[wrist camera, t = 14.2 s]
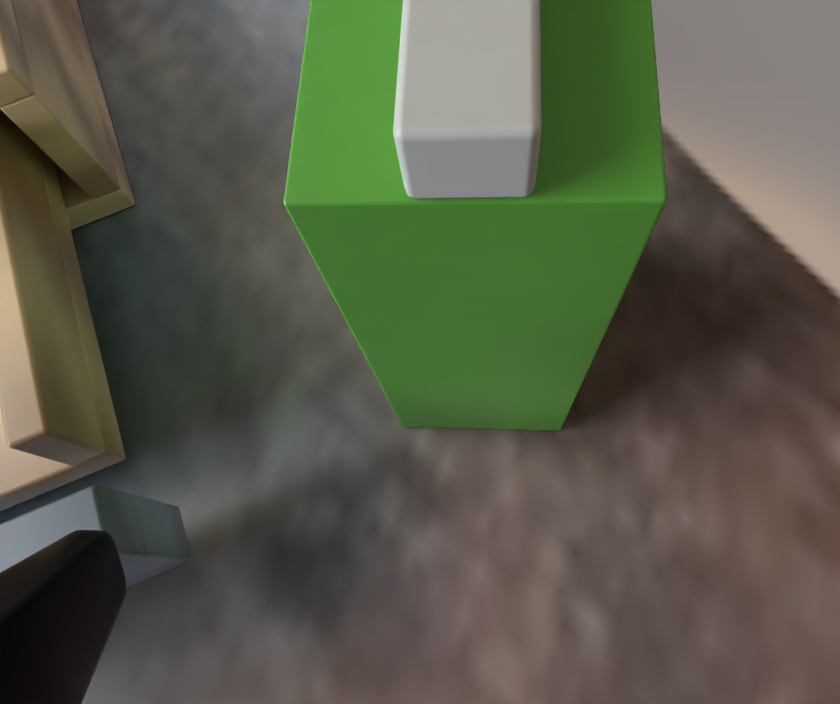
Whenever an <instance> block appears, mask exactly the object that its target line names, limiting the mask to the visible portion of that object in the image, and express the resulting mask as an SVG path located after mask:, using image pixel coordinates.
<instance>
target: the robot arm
mask: <svg viewBox="0 0 840 704" xmlns="http://www.w3.org/2000/svg"><path fill="white" fill-rule="evenodd" d="M125 594H126V578H125V574H124V571H123V567H122V564H121V560H120V557H119V553H118V550H117V546H116V543H115V540H114V537H113V536H112V535H111V534H110V533H109V532H106V531H100V530H76V531H73V532H71V533H70V534H68V535H66V536H64V537H63V538H61V539H59V540H57V541H55V542H54V543H52V544H50V545H48V546H47V547H45V548H43V549H41V550H40V551H38V552H36V553H34V554H32V555H31V556H29V557H27V558H25V559H24V560H22V561H20V562H18V563H17V564H15V565H13V566H11V567H9V568H8V569H6V570H4V571H2V572H1V573H0V704H81V703H82V701H83V698H84V696H85V694H86V691H87V689H88V686H89V684H90V681H91V679H92V677H93V674H94V672H95V669H96V667H97V664H98V662H99V660H100V657H101V655H102V652H103V650H104V647H105V645H106V642H107V640H108V638H109V635H110V633H111V630H112V628H113V625H114V623H115V621H116V618H117V616H118V613H119V611H120V608H121V606H122V604H123V601H124V598H125Z"/></svg>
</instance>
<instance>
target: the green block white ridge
mask: <svg viewBox="0 0 840 704" xmlns="http://www.w3.org/2000/svg"><path fill="white" fill-rule="evenodd" d="M666 201H667V189H666V176H665V164H664V152H663V140H662V128H661V117H660V104H659V92H658V80H657V67H656V55H655V43H654V31H653V20H652V7H651V0H310V6H309V14H308V21H307V29H306V36H305V44H304V51H303V59H302V66H301V73H300V81H299V88H298V96H297V103H296V111H295V118H294V125H293V133H292V140H291V148H290V155H289V163H288V170H287V177H286V185H285V192H284V200H283V203H284V206H285V208H286V210H287V212H288V213H289V215H290V217H291V219H292V221H293V223H294V225H295V227H296V228H297V230H298V232H299V234H300V236H301V238H302V240H303V241H304V243H305V245H306V247H307V249H308V251H309V253H310V255H311V256H312V258H313V260H314V262H315V264H316V266H317V268H318V270H319V271H320V273H321V275H322V277H323V279H324V281H325V283H326V285H327V286H328V288H329V290H330V292H331V294H332V296H333V298H334V299H335V301H336V303H337V305H338V307H339V309H340V311H341V313H342V314H343V316H344V318H345V320H346V322H347V324H348V326H349V328H350V329H351V331H352V333H353V335H354V337H355V339H356V341H357V343H358V344H359V346H360V348H361V350H362V352H363V354H364V356H365V358H366V359H367V361H368V363H369V365H370V367H371V369H372V371H373V372H374V374H375V376H376V378H377V380H378V382H379V384H380V386H381V387H382V389H383V391H384V393H385V395H386V397H387V399H388V401H389V402H390V404H391V406H392V408H393V410H394V412H395V414H396V416H397V417H398V419H399V421H400V423H401V425H402V426H403V427H439V428H475V429H512V430H548V431H560V430H561V428H562V426H563V424H564V421H565V419H566V417H567V415H568V413H569V411H570V408H571V406H572V404H573V402H574V400H575V398H576V395H577V393H578V391H579V389H580V387H581V385H582V383H583V380H584V378H585V376H586V374H587V372H588V370H589V367H590V365H591V363H592V361H593V359H594V357H595V354H596V352H597V350H598V348H599V346H600V344H601V341H602V339H603V337H604V335H605V333H606V331H607V329H608V326H609V324H610V322H611V320H612V318H613V316H614V313H615V311H616V309H617V307H618V305H619V303H620V300H621V298H622V296H623V294H624V292H625V290H626V287H627V285H628V283H629V281H630V279H631V277H632V274H633V272H634V270H635V268H636V266H637V264H638V262H639V259H640V257H641V255H642V253H643V251H644V249H645V246H646V244H647V242H648V240H649V238H650V236H651V233H652V231H653V229H654V227H655V225H656V223H657V220H658V218H659V216H660V214H661V212H662V210H663V208H664V205H665V203H666Z"/></svg>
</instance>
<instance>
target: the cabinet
mask: <svg viewBox="0 0 840 704" xmlns="http://www.w3.org/2000/svg"><path fill="white" fill-rule="evenodd" d="M0 108H1V110H2V111H3V112H4V113H5V114H6V115H7V116H8V117H9V118H10V119H11V120H12V121H13V122H14V123H15V124H16V125H17V126H18V127H19V128H20V129H21V130H22V131H23V132H24V133H25V134H26V135H27V136H28V137H29V138H30V139H31V140H32V141H33V142H34V143H36V144H37V145H38V146H39V147H40V148H41V149H42V150H43V151H44V152H45V153H46V154H47V155H48V156H49V157H50V158H51V159H52V160H53V161H54V163H55V167H56V171H57V175H58V179H59V183H60V188H61V192H62V196H63V200H64V204H65V208H66V212H67V216H68V221H69V225H70V229H71V230H73V229H75V228H78V227H80V226H83V225H85V224H88V223H90V222H93V221H95V220H98V219H101V218H103V217H106V216H108V215H111V214H113V213H116V212H118V211H121V210H123V209H126V208H128V207H131V206H133V205H134V204H135V201H134V198H133V194H132V191H131V187H130V184H129V181H128V177H127V174H126V170H125V167H124V163H123V160H122V156H121V153H120V149H119V146H118V142H117V139H116V135H115V132H114V128H113V125H112V122H111V118H110V115H109V111H108V108H107V104H106V101H105V97H104V94H103V90H102V87H101V83H100V80H99V76H98V73H97V69H96V66H95V63H94V59H93V56H92V52H91V49H90V45H89V42H88V38H87V35H86V31H85V28H84V24H83V21H82V17H81V14H80V10H79V7H78V4H77V0H0Z"/></svg>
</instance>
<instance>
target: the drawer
mask: <svg viewBox="0 0 840 704" xmlns="http://www.w3.org/2000/svg"><path fill="white" fill-rule="evenodd" d="M124 459H125V452H124V448H123V444H122V440H121V436H120V432H119V427H118V423H117V419H116V415H115V411H114V407H113V403H112V399H111V394H110V390H109V386H108V382H107V378H106V374H105V370H104V365H103V361H102V357H101V353H100V349H99V345H98V341H97V336H96V332H95V328H94V324H93V320H92V316H91V312H90V308H89V303H88V299H87V295H86V291H85V287H84V283H83V279H82V274H81V270H80V266H79V262H78V258H77V254H76V250H75V245H74V241H73V237H72V233H71V229H70V225H69V221H68V216H67V212H66V208H65V204H64V200H63V196H62V192H61V188H60V183H59V179H58V175H57V171H56V167H55V163H54V161H53V160H52V159H51V158H50V157H49V156H48V155H47V154H46V153H45V152H44V151H43V150H42V149H41V148H40V147H39V146H38V145H37V144H36V143H34V142H33V141H32V140H31V139H30V138H29V137H28V136H27V135H26V134H25V133H24V132H23V131H22V130H21V129H20V128H19V127H18V126H17V125H16V124H15V123H14V122H13V121H12V120H11V119H10V118H9V117H8V116H7V115H6V114H5V113H4V112H3V111H2V110H1V108H0V511H2V510H5V509H7V508H9V507H12V506H14V505H17V504H19V503H21V502H24V501H26V500H29V499H31V498H34V497H36V496H38V495H41V494H43V493H46V492H48V491H50V490H53V489H55V488H58V487H60V486H62V485H65V484H67V483H70V482H72V481H75V480H77V479H79V478H82V477H84V476H87V475H89V474H91V473H94V472H96V471H99V470H101V469H104V468H106V467H108V466H111V465H113V464H116V463H118V462H120V461H123V460H124ZM76 530H100V531H106V532H109V533H110V534H111V535H112V536H113V537H114V540H115V543H116V546H117V550H118V553H119V557H120V560H121V564H122V567H123V571H124V574H125V578H126V587H129V586H131V585H133V584H136V583H138V582H141V581H143V580H145V579H148V578H150V577H152V576H155V575H157V574H160V573H162V572H164V571H167V570H169V569H171V568H174V567H176V566H178V565H181V564H183V563H186V562H188V561H190V560H191V557H192V556H191V552H190V548H189V545H188V541H187V537H186V533H185V529H184V526H183V522H182V518H181V514H180V511H179V508H178V507H177V506H173V505H170V504H166V503H162V502H158V501H154V500H150V499H147V498H143V497H139V496H135V495H131V494H128V493H124V492H120V491H116V490H112V489H108V488H105V487H101V486H97V485H92V486H89V487H87V488H85V489H82V490H80V491H77V492H75V493H73V494H70V495H68V496H65V497H63V498H60V499H58V500H56V501H53V502H51V503H48V504H46V505H44V506H41V507H39V508H36V509H34V510H32V511H29V512H27V513H24V514H22V515H19V516H17V517H15V518H12V519H10V520H7V521H5V522H3V523H0V573H1V572H2V571H4V570H6V569H8V568H9V567H11V566H13V565H15V564H17V563H18V562H20V561H22V560H24V559H25V558H27V557H29V556H31V555H32V554H34V553H36V552H38V551H40V550H41V549H43V548H45V547H47V546H48V545H50V544H52V543H54V542H55V541H57V540H59V539H61V538H63V537H64V536H66V535H68V534H70V533H71V532H73V531H76Z"/></svg>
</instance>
